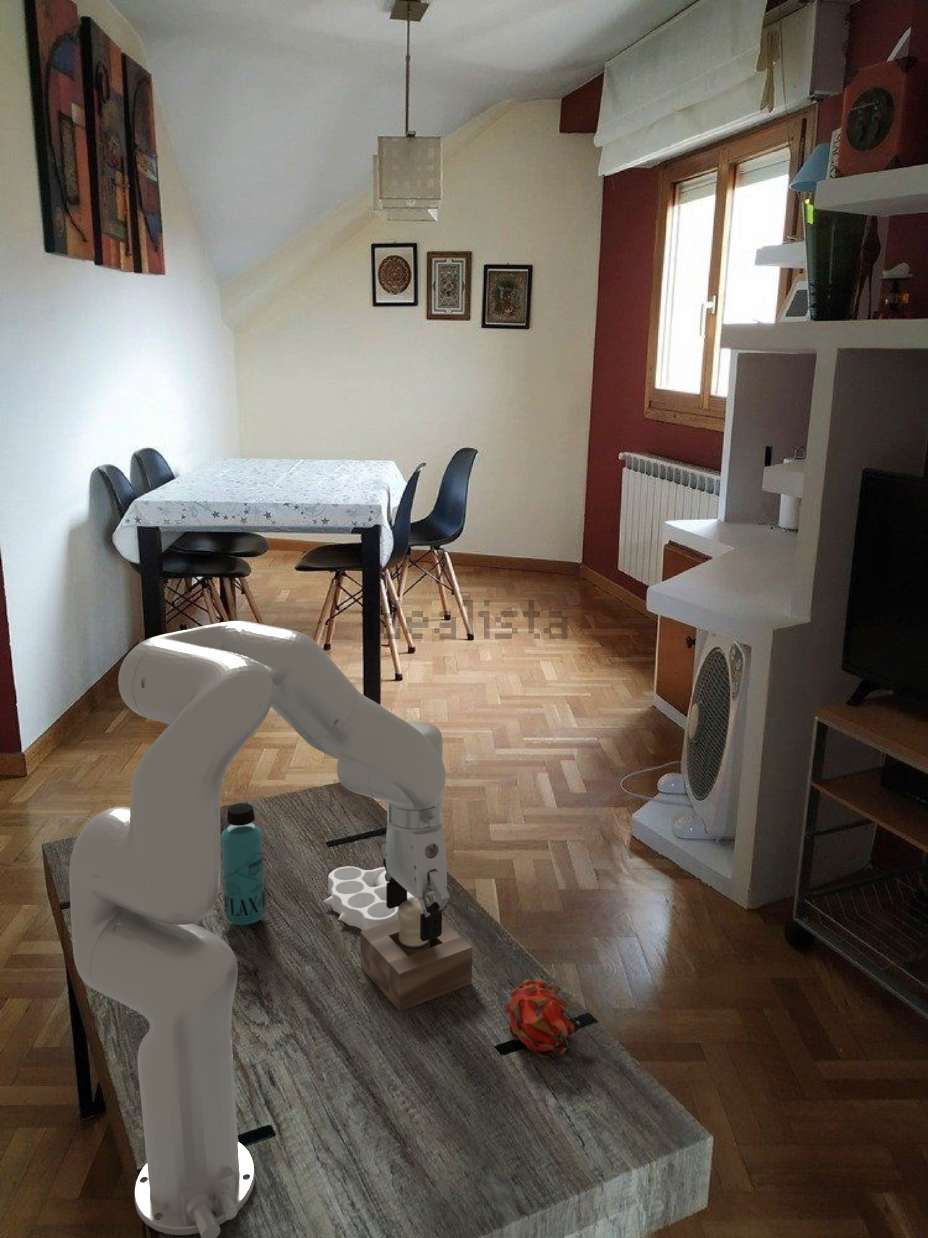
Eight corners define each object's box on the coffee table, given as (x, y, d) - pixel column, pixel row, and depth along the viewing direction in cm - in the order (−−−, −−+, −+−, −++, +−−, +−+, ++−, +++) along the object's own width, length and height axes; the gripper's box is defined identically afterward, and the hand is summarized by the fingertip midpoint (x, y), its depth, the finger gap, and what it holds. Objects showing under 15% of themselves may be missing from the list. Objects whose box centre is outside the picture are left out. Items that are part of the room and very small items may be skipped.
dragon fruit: (519, 1019, 138) (563, 1086, 128) (478, 1005, 133) (520, 1073, 123) (556, 971, 137) (603, 1034, 127) (516, 955, 132) (561, 1020, 122)
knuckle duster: (437, 921, 159) (353, 948, 151) (386, 871, 174) (308, 894, 166) (437, 902, 158) (353, 929, 150) (386, 854, 173) (307, 876, 165)
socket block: (471, 983, 143) (472, 947, 141) (399, 1011, 137) (399, 974, 135) (429, 943, 152) (429, 908, 151) (361, 967, 146) (360, 931, 145)
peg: (436, 971, 144) (436, 911, 141) (408, 982, 141) (407, 920, 138) (420, 955, 147) (419, 896, 145) (393, 965, 145) (392, 905, 142)
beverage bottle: (217, 931, 155) (210, 814, 149) (236, 908, 161) (230, 795, 156) (256, 937, 153) (250, 819, 148) (274, 914, 160) (268, 800, 154)
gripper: (471, 829, 132) (468, 943, 136) (407, 783, 146) (406, 887, 150) (422, 842, 128) (421, 959, 132) (361, 794, 142) (362, 901, 147)
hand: (413, 921), depth 141 cm, fingers open, 9 cm apart
